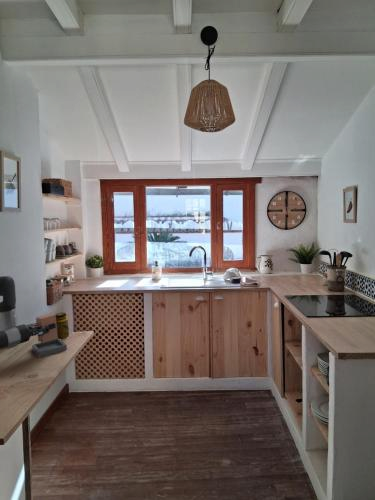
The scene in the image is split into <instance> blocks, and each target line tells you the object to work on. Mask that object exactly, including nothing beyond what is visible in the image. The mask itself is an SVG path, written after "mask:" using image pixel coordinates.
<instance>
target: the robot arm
mask: <svg viewBox="0 0 375 500" xmlns="http://www.w3.org/2000/svg"><path fill="white" fill-rule="evenodd" d="M16 294H17V293H16V282H15V280H14V278H13V277H12V276H10V275H9V276H8V275H6V276H5V275H4V276H1V275H0V297H2V301H0V350H3V349H6V348H12V347H14V346H18V345H20V344H23V343H27V342H29V340H30V339H31V337H35V336H37V337H38V336H42V335H44V334H46V333H49V330H51V329H54V328H56V324H55V323H53V324H50V325H46V326H37V324H36V322H35V323H29V324H24V323H23V324H20V325H19V324H18V322H19V321H18V315H17V308H16V304H17V303H16V302H17V296H16ZM40 328H41V329H40Z"/></svg>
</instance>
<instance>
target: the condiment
mask: <svg viewBox="0 0 375 500" xmlns="http://www.w3.org/2000/svg"><path fill="white" fill-rule="evenodd" d="M55 315H56V325H57V335H58V338H59V339H63V340H65V339H64V338H66V339H68V338H67V337H69V335H70V329H69V320H68V319H69V318H68V316H67V313H66V312H58V313H56V314H55ZM70 336H71V337H70V338H72V337H73V335H70Z"/></svg>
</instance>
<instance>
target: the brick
mask: <svg viewBox="0 0 375 500" xmlns="http://www.w3.org/2000/svg"><path fill="white" fill-rule="evenodd" d="M35 321H36V322H35V323H36V324H37V326H46V325H50V324H53V323H55V324H56V314H54V313H46V314H43V315H40V316H37V317H35ZM40 329H41V328H40ZM57 338H58V335H57V325H56V328H54V329H51V330H49V333H46V334H44V335H42V336H38V335H37V340H38V341H37V342H39V343H41V342H42V343H45V342H48V341H51V340H54V339H57Z"/></svg>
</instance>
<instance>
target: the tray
mask: <svg viewBox="0 0 375 500" xmlns="http://www.w3.org/2000/svg"><path fill="white" fill-rule="evenodd" d="M31 348H32V351H33V352H34V354H36V355H37V356H38V358H41V357H42V358H43V357H45V356H49V355H52V354H56V353H61V352H63V351H68V346H67V344H66V343H65V342H64V341H63V340H60V339H59V338H57V339H54V340H51V341H48V342H45V343H42V342H37V343H35V344H34V343H33V344H31Z"/></svg>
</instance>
